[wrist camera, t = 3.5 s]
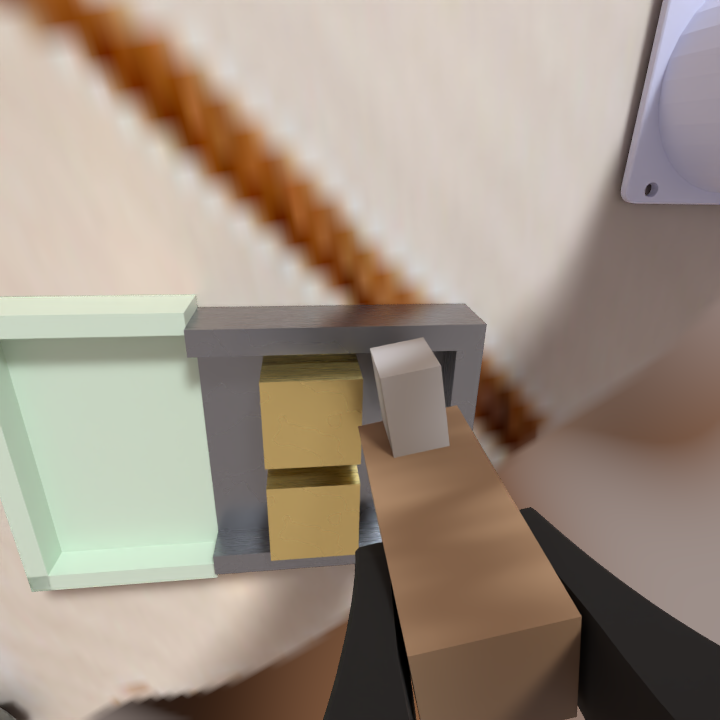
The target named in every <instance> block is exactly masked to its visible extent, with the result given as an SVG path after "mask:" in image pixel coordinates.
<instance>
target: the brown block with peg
mask: <svg viewBox="0 0 720 720" xmlns="http://www.w3.org/2000/svg"><path fill="white" fill-rule="evenodd" d="M370 352H371V357H372V363H373V369H374V374H375V380H376V386H377V391H378V397H379V402H380V408H381V414H382V419H383V421H380V422H376V423H371V424H366V425H362V426H358V429H359V434H360V439H361V444H362V449H363V454H364V458H365V463H366V468H367V473H368V478H369V483H370V488H371V492H372V497H373V502H374V507H375V512H376V516H377V521H378V526H379V530H380V535H381V540H382V542H383V546H384V551H385V555H386V560H387V564H388V569H389V574H390V578H391V583H392V588H393V593H394V598H395V603H396V607H397V612H398V617H399V622H400V627H401V632H402V637H403V641H404V646H405V651H406V656H407V661H408V666H409V671H410V675H411V680H412V684H413V689H414V694H415V698H416V703H417V708H418V712H419V717H420V720H565V719H569V718H573V717H577V702H578V682H579V661H580V641H581V620H582V616H581V614H580V613H579V611H578V609H577V608H576V606H575V604H574V603H573V601H572V599H571V598H570V596H569V594H568V592H567V591H566V589H565V587H564V586H563V584H562V582H561V581H560V579H559V577H558V576H557V574H556V572H555V570H554V569H553V567H552V565H551V564H550V562H549V560H548V559H547V557H546V555H545V553H544V552H543V550H542V548H541V547H540V545H539V543H538V542H537V540H536V538H535V537H534V535H533V533H532V531H531V530H530V528H529V526H528V525H527V523H526V521H525V520H524V518H523V516H522V515H521V513H520V511H519V509H518V508H517V506H516V505H515V503H514V501H513V499H512V498H511V496H510V494H509V493H508V491H507V489H506V487H505V486H504V484H503V482H502V481H501V479H500V477H499V476H498V474H497V472H496V470H495V469H494V467H493V465H492V464H491V462H490V460H489V459H488V457H487V455H486V454H485V452H484V450H483V448H482V447H481V445H480V443H479V442H478V440H477V438H476V437H475V435H474V433H473V432H472V430H471V428H470V426H469V425H468V423H467V421H466V420H465V418H464V416H463V415H462V413H461V411H460V410H459V408H458V406H457V405H455V406H451V407H445V397H444V388H443V379H442V370H441V365H440V363H439V362H438V360H437V358H436V357H435V355H434V354H433V352H432V350H431V349H430V347H429V345H428V344H427V342H426V341H425V339H424V337H422V338H417V339H412V340H407V341H403V342H398V343H393V344H388V345H383V346H378V347H374V348H370Z"/></svg>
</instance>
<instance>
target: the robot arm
mask: <svg viewBox="0 0 720 720" xmlns="http://www.w3.org/2000/svg"><path fill="white" fill-rule="evenodd" d="M648 184H651V191H650V193H649V194H648V195H645V189H646V187H647V185H648ZM621 196H622V199H623V200H624V201H626V202H629V203H634V204H716V205H720V0H663V3H662V7H661V12H660V16H659V20H658V25H657V29H656V34H655V38H654V43H653V47H652V52H651V56H650V61H649V65H648V70H647V74H646V79H645V83H644V88H643V92H642V97H641V101H640V106H639V110H638V115H637V119H636V124H635V128H634V133H633V137H632V142H631V146H630V151H629V155H628V160H627V164H626V169H625V173H624V178H623V182H622V187H621ZM519 511H520V513H521V515H522V516H523V518H524V520H525V521H526V523H527V525H528V526H529V528H530V530H531V531H532V533H533V535H534V537H535V538H536V540H537V542H538V543H539V545H540V547H541V548H542V550H543V552H544V553H545V555H546V557H547V559H548V560H549V562H550V564H551V565H552V567H553V569H554V570H555V572H556V574H557V576H558V577H559V579H560V581H561V582H562V584H563V586H564V587H565V589H566V591H567V592H568V594H569V596H570V598H571V599H572V601H573V603H574V604H575V606H576V608H577V609H578V611H579V613H580V614H581V616H582V620H581V641H580V661H579V682H578V702H577V705H578V707H579V709H580V711H581V712H582V714H583V716H584V718H585V720H720V646H719V645H717V644H716V643H714V642H713V641H711V640H709V639H708V638H706V637H704V636H702V635H701V634H699V633H697V632H696V631H694V630H693V629H691V628H690V627H688V626H686V625H685V624H683V623H682V622H680V621H678V620H677V619H675V618H674V617H672V616H671V615H669V614H668V613H666V612H665V611H663V610H662V609H660V608H659V607H657V606H656V605H654V604H653V603H651V602H650V601H649V600H647V599H646V598H644V597H643V596H641V595H640V594H639V593H637V592H636V591H635V590H633V589H632V588H630V587H629V586H628V585H626V584H625V583H623V582H622V581H621V580H619V579H618V578H617V577H615V576H614V575H613V574H612V573H610V572H609V571H608V570H606V569H605V568H604V567H603V566H601V565H600V564H599V563H597V562H596V561H595V560H594V559H592V558H591V557H589V556H588V555H587V554H586V553H585V552H583V551H582V550H581V549H580V548H579V547H577V546H576V545H575V544H574V543H573V542H571V541H570V540H569V539H568V538H567V537H565V536H564V535H563V534H562V533H561V532H559V530H557V529H556V528H555V527H554V526H553V525H552V524H550V523H549V522H548V521H547V520H546V519H545V518H544V517H542V516H541V515H540V514H539V513H538V512H537V511H536V510H534V509H533V508H531V507H530V508H525V509H521V510H519ZM323 720H416V714H415V706H414V699H413V691H412V685H411V676H410V671H409V666H408V661H407V656H406V651H405V646H404V641H403V637H402V632H401V627H400V622H399V617H398V612H397V607H396V603H395V598H394V593H393V588H392V583H391V578H390V574H389V569H388V564H387V560H386V555H385V551H384V546H383V542H379V543H375V544H371V545H366V546H362V547H359V548H358V549H357V550H356V551H355V578H354V587H353V595H352V603H351V608H350V614H349V620H348V625H347V631H346V636H345V640H344V645H343V649H342V653H341V657H340V662H339V666H338V670H337V674H336V678H335V681H334V685H333V689H332V692H331V696H330V699H329V703H328V706H327V709H326V712H325V715H324V718H323Z"/></svg>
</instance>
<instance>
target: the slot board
mask: <svg viewBox="0 0 720 720" xmlns="http://www.w3.org/2000/svg"><path fill="white" fill-rule="evenodd" d="M486 325H487V324H486V323H485V322H484V321H483V320H482V319H481V318H479V317H478V316H477V315H476V314H475V313H474V312H473V311H472V310H471V309H470V308H469V307H468V306H467V305H466V304H407V305H336V306H265V307H197V309H196V311H195V312H194V314H193V316H192V317H191V319H190V320H189V322H188V324H187V325H186V327H185V329H184V337H185V345H186V352H187V358H191V357H197V359H198V367H199V375H200V384H201V392H202V400H203V408H204V417H205V425H206V433H207V442H208V450H209V458H210V466H211V475H212V483H213V491H214V500H215V508H216V516H217V525H218V534H217V539H216V544H215V549H214V554H213V561H214V568H215V574H228V573H241V572H254V571H268V570H281V569H294V568H307V567H320V566H333V565H346V564H355V555H343V556H330V557H316V558H303V559H289V560H276V561H271V553H270V538H269V524H268V509H267V494H266V486H267V475H268V469H265V464H264V449H263V434H262V419H261V405H260V390H259V380H260V373H261V367H262V361H263V356H269V355H308V354H348V353H356V356H357V360H358V363H359V367H360V370H361V374H362V377H363V402H362V425H366V424H371V423H376V422H380V421H383V419H382V414H381V408H380V402H379V397H378V391H377V386H376V380H375V374H374V369H373V363H372V357H371V352H370V348H374V347H378V346H383V345H388V344H393V343H398V342H403V341H407V340H412V339H417V338H422V337H424V339H425V341H426V342H427V344H428V345H429V347H430V349H431V350H432V352H433V354H434V355H435V357H436V358H437V360H438V362H439V363H440V365H441V370H442V379H443V388H444V397H445V407H451V406H455V405H457V406H458V408H459V410H460V411H461V413H462V415H463V416H464V418H465V420H466V421H467V423H468V425H469V426H470V428H471V430H472V431H473V423H474V415H475V408H476V400H477V393H478V385H479V378H480V370H481V363H482V355H483V348H484V340H485V333H486ZM357 470H358V475H359V480H360V512H359V547H362V546H366V545H371V544H375V543H379V542H382V540H381V535H380V530H379V526H378V521H377V516H376V512H375V507H374V502H373V497H372V492H371V488H370V483H369V478H368V473H367V468H366V463H365V458H364V454H363V449H362V444H361V464H359V465H357Z"/></svg>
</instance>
